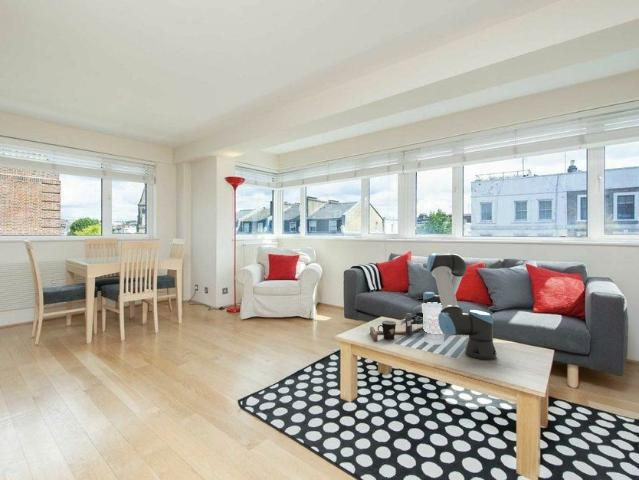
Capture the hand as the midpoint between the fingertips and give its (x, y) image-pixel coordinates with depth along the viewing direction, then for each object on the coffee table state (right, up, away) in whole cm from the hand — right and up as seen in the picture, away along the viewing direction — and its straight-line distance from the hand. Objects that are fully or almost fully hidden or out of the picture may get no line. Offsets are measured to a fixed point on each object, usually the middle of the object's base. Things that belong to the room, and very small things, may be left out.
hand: (404, 323), depth 207 cm
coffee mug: (-13, -8, -5) cm, 16 cm away
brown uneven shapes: (-8, -8, -3) cm, 11 cm away
